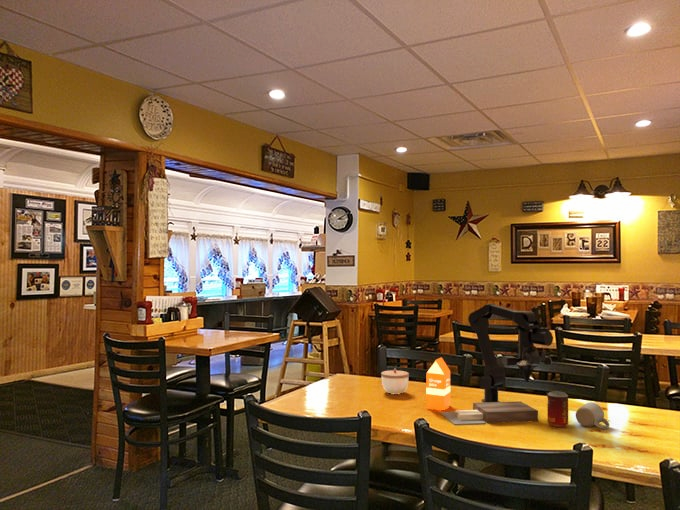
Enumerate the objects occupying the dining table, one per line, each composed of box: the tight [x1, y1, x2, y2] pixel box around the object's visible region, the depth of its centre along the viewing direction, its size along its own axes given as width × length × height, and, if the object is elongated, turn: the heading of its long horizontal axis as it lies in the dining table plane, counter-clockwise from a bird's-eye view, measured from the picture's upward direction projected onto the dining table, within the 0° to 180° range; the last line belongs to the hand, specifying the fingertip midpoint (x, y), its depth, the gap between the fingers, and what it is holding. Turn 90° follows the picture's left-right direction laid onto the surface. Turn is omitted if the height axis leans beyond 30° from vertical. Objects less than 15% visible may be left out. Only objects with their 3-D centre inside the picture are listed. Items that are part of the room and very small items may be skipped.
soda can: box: [546, 390, 569, 430], centre depth 196 cm, size 7×7×12 cm
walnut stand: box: [472, 400, 539, 424], centre depth 208 cm, size 14×20×4 cm
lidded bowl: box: [380, 368, 410, 395], centre depth 247 cm, size 13×13×11 cm
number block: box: [454, 409, 483, 420], centre depth 205 cm, size 6×9×2 cm, turn 96°
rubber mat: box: [440, 411, 487, 426], centre depth 205 cm, size 16×12×1 cm
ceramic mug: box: [575, 401, 610, 430], centre depth 197 cm, size 11×8×8 cm
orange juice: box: [425, 357, 451, 411], centre depth 222 cm, size 8×9×20 cm
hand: (526, 381), depth 215 cm, fingers closed
